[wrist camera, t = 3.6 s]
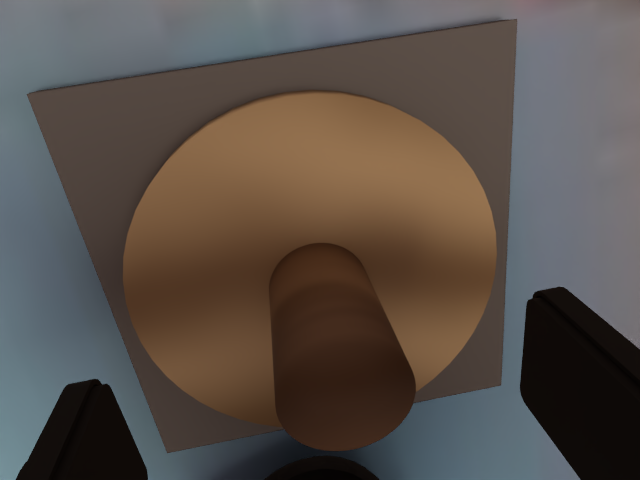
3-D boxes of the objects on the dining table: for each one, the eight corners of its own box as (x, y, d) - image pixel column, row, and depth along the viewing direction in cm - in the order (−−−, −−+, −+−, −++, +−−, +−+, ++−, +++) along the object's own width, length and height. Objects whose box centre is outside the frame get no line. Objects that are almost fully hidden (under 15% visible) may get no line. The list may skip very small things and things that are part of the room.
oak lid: (479, 370, 19) (575, 513, 13) (186, 431, 18) (156, 609, 12) (481, 59, 14) (638, 75, 8) (76, 126, 13) (-59, 194, 7)
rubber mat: (492, 372, 20) (501, 385, 19) (170, 437, 19) (167, 452, 18) (503, 19, 14) (516, 19, 13) (39, 90, 13) (26, 93, 13)
